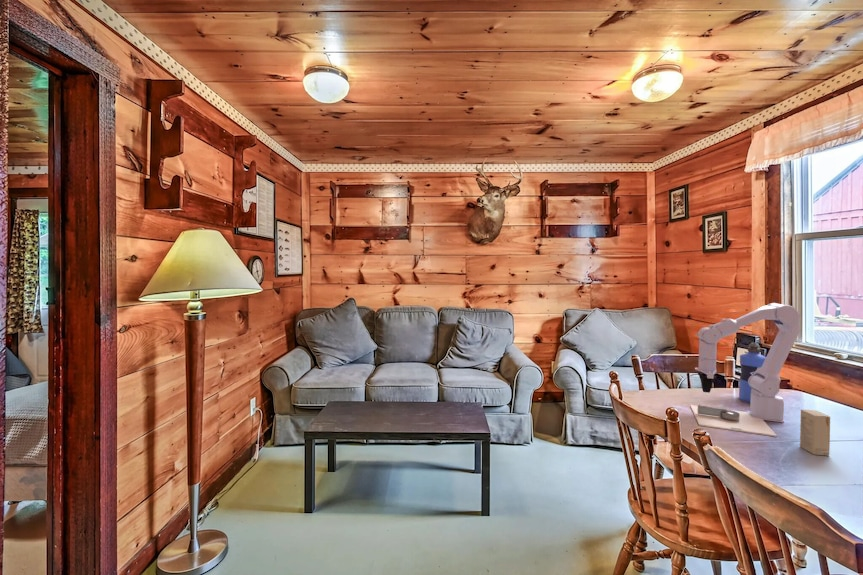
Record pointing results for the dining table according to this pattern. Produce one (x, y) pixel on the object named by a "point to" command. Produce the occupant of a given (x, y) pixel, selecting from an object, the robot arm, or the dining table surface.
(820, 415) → the skincare box
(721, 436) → the dining table surface
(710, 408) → the twist lock
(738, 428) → the base
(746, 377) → the water bottle
